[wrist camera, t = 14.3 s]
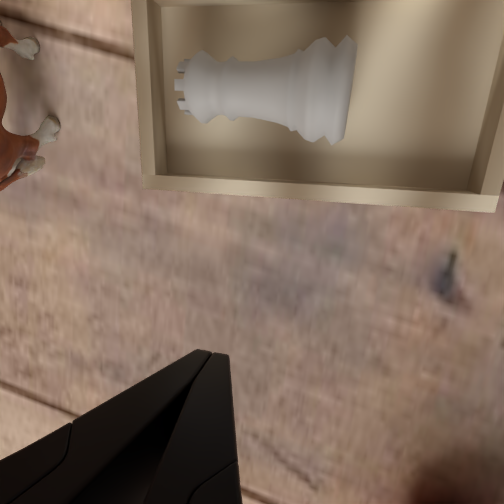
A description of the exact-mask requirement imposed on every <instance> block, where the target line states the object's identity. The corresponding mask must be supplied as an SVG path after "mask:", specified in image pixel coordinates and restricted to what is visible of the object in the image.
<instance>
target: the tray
mask: <svg viewBox="0 0 504 504" xmlns="http://www.w3.org/2000/svg"><path fill="white" fill-rule="evenodd" d="M131 11H132V27H133V43H134V58H135V74H136V90H137V106H138V121H139V137H140V153H141V169H142V184H143V189H153V190H168V191H183V192H197V193H212V194H227V195H241V196H256V197H270V198H285V199H300V200H314V201H329V202H344V203H358V204H373V205H388V206H402V207H417V208H432V209H446V210H461V211H475V212H490V213H495V209H496V206H497V202H498V198H499V195H500V191H501V187H502V183H503V180H504V0H131ZM346 35H348V36H349V37H350V38H351V39H352V40H353V41H354V42H356V43H357V44H358V48H357V56H356V64H355V71H354V78H353V85H352V92H351V98H350V105H349V111H348V117H347V124H346V129H345V135H344V139H342V140H340V141H339V142H337V143H335V144H333V145H331V144H330V143H329V141H328V140H327V138H326V137H325V135H324V136H323V137H321V138H320V139H318V140H317V141H315V142H310V141H307V140H305V139H304V138H303V137H302V136H301V135H300V134H299V133H298V131H297V130H295V131H290V130H289V128H288V127H286V126H284V125H281V124H278V123H275V122H271V121H266V120H261V119H256V118H251V117H238V118H237V119H235V120H234V121H231V120H229V119H228V118H227V117H226V116H225V115H217V116H216V117H215V118H213V119H212V120H211V121H209V122H208V123H207V124H204V123H201V122H199V121H198V120H197V119H196V118H195V117H194V116H193V115H186V114H184V113H185V110H180V108H179V106H178V103H177V100H178V99H179V98H185V97H184V91H175V84H174V79H183V78H184V73H178V71H177V69H176V68H177V66H178V64H179V62H184V59H192V57H193V56H194V55H195V54H196V53H198V52H199V51H201V50H203V51H205V52H207V53H208V54H209V55H210V56H211V57H213V58H214V59H215V60H216V61H218V62H225V61H227V60H228V59H229V58H230V57H232V56H233V57H235V58H236V59H237V60H238V61H252V62H254V61H261V60H268V59H275V58H281V57H285V56H288V55H291V54H295V52H296V51H297V50H298V49H300V50H302V51H305V50H306V49H307V48H308V47H309V46H310V45H311V44H312V43H313V42H314V41H315V40H317V39H320V38H323V37H326V38H327V39H328V40H329V41H330V42H331V43H332V44H333V45H334V46H335V47H337V46H338V44H339V43H340V42H341V41H342V40H343V39H344V38H345V37H346Z"/></svg>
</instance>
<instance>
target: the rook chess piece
mask: <svg viewBox="0 0 504 504" xmlns="http://www.w3.org/2000/svg"><path fill="white" fill-rule="evenodd" d="M357 48H358V44H357V43H356V42H354V41H353V40H352V39H351V38H350V37H349V36H348V35H346V37H345V38H344V39H343V40H342V41H341V42H340V43H339V44H338V46H337V47H335V46H334V45H333V44H332V43H331V42H330V41H329V40H328V39H327V38H326V37H323V38H320V39H317V40H315V41H314V42H313V43H312V44H311V45H310V46H309V47H308V48H307V49H306V50H305V51H302V50H300V49H298V50H297V51H296V52H295V54H291V55H288V56H285V57H281V58H275V59H268V60H261V61H254V62H252V61H238V60H237V59H236V58H235V57H233V56H232V57H230V58H229V59H228V60H227V61H225V62H218V61H216V60H215V59H214V58H213V57H211V56H210V55H209V54H208V53H207V52H205V51H203V50H201V51H199V52H198V53H196V54H195V55H194V56H193V57H192V59H184V62H179V64H178V66H177V68H176V69H177V71H178V73H184V78H183V79H174V84H175V91H184V97H185V98H179V99H178V100H177V103H178V106H179V108H180V110H185V113H184V114H186V115H193V116H194V117H195V118H196V119H197V120H198V121H199V122H201V123H204V124H207V123H208V122H209V121H211V120H212V119H213V118H215V117H216V116H217V115H225V116H226V117H227V118H228V119H229V120H231V121H234V120H235V119H237V118H238V117H251V118H256V119H261V120H266V121H271V122H275V123H278V124H281V125H284V126H286V127H288V128H289V130H290V131H295V130H297V131H298V133H299V134H300V135H301V136H302V137H303V138H304V139H305V140H307V141H310V142H315V141H317V140H318V139H320V138H321V137H323V136H324V135H325V137H326V138H327V140H328V141H329V143H330V144H331V145H333V144H335V143H337V142H339V141H340V140H342V139H344V135H345V129H346V124H347V117H348V111H349V105H350V98H351V92H352V85H353V78H354V71H355V64H356V56H357Z"/></svg>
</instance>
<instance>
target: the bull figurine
mask: <svg viewBox="0 0 504 504" xmlns="http://www.w3.org/2000/svg"><path fill="white" fill-rule="evenodd" d="M0 47H3V48H9V49H12V50H13V51H15V52H16V53H17V54H18V55H19V56H20V57H22V58H27V59H29V60H34V54H35V53H38V52H39V49H40V48H39V43H38V41H37V40H36V39H35V38H33V37H28V38H25V39H23V40H17V39H15V38H13V37H12V36H11V34H10V33H9V31H8V30H7V29H6V28H4V27H2V24H1V22H0ZM6 103H7V94H6V90H5V86H4V81H3V78H2V76H1V73H0V191H1V190H3V189H4V188H6V187H7V186H8V185H10V184H11V183H12V182H14V181H16V180H18V179H21V178H24V177H27V176H29V175H31V174H33V173H35V172H37V171H38V170H40V169H42V167H43V165H44V164H45V159H44V158H43V157H41V156H35V155H36V152H37V151H38V150H39V149H40V148H41V147H42V146H43V145H45V144H47V143H49V142H52V141H56V140H57V138H56V137H55V136H54V134H55V133H56V132H57V131H59V130H60V124H59V122H58V120H57V119H56V118H55V117H52V116H47V117H46V119H45V120H44V121H43V122H42V124H41V126H40V128H39V129H38V130H37V131H36V132H35V133H34V134H31V135H28V136H20V135H16V134H13V133H10V132H8V131H7V130H5V129H4V127H3V125H2V118H3V115H4V112H5V109H6Z"/></svg>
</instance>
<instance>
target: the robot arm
mask: <svg viewBox="0 0 504 504" xmlns="http://www.w3.org/2000/svg"><path fill="white" fill-rule="evenodd" d="M0 504H242V496H241V488H240V478H239V466H238V456H237V444H236V432H235V420H234V408H233V396H232V384H231V372H230V359H229V356H228V355H227V354H222V353H216V352H215V353H213V354H212V352H210V351H206V350H200V349H196V350H194V351H192V352H191V353H189V354H187V355H186V356H184V357H182V358H180V359H179V360H177V361H175V362H173V363H172V364H170V365H168V366H166V367H165V368H163V369H161V370H160V371H158V372H156V373H154V374H153V375H151V376H149V377H147V378H146V379H144V380H142V381H141V382H139V383H137V384H135V385H134V386H132V387H130V388H128V389H127V390H125V391H123V392H121V393H120V394H118V395H116V396H115V397H113V398H111V399H109V400H108V401H106V402H104V403H102V404H101V405H99V406H97V407H96V408H94V409H92V410H90V411H89V412H87V413H85V414H83V415H82V416H80V417H78V418H76V419H75V420H73V422H72V423H68V424H66V425H64V426H62V427H61V428H59V429H57V430H55V431H54V432H52V433H50V434H48V435H47V436H45V437H43V438H41V439H39V440H38V441H36V442H34V443H32V444H30V445H28V446H27V447H25V448H23V449H21V450H19V451H17V452H15V453H13V454H11V455H9V456H7V457H5V458H4V459H2V460H0Z"/></svg>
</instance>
